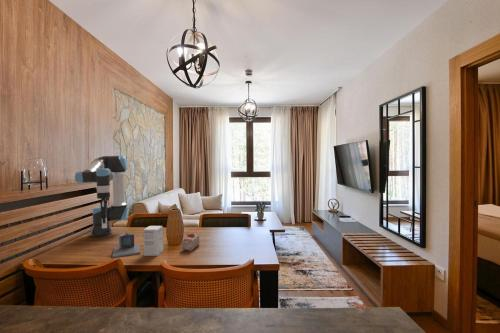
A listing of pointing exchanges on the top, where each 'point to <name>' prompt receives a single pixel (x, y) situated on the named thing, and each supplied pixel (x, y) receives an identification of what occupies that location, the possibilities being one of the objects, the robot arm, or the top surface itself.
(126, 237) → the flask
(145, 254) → the supplement box
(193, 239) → the food item
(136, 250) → the slate board
